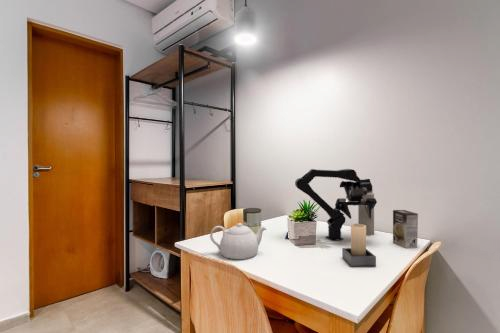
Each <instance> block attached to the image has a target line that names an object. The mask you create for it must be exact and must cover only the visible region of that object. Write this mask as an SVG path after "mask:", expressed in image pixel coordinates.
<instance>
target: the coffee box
mask: <svg viewBox="0 0 500 333" xmlns="http://www.w3.org/2000/svg"><path fill="white" fill-rule="evenodd" d="M418 224H419V214H418V213H416V212H414V211H413V212H412V211H410V210H405V209H393V210H392V226H393V227H392V242H393V243H394V244H396V245H398V246H400V247H402V248H404V249H415V248H416V249H417V248H418V236H419V235H418V232H419V230H418V229H419V228H418V227H419V226H418Z"/></svg>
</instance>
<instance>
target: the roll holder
mask: <svg viewBox="0 0 500 333" xmlns="http://www.w3.org/2000/svg"><path fill="white" fill-rule="evenodd" d="M341 250H342V253H341V254H342V256H341V257H342V259H343V260H344V261H345V263H346V264H348V265H349V267H350V268H373V267H374V268H377V267H376V266H377V256H376V255H375V254H374V253H372V252H371V251H370V250H368V249H367V248H366V256H352V255H351V247H350V248H349V247H348V248H347V247H345V248H341Z"/></svg>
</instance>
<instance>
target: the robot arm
mask: <svg viewBox="0 0 500 333" xmlns="http://www.w3.org/2000/svg"><path fill="white" fill-rule="evenodd" d="M317 177H319V178H334V179H335V178H338V179H341V180H342V179H343V180H342V181H341V182H340V184H339V188H343V189H344V191H345V195H346V196H345V198H344V197H343V198H341V197H339V198H337V199H336V201H335V204H334V206H335V207H334V208H333V207H332V206H331V205H330V204H329V203H327V202H326V200H324V199H323V198H322V197H321V196H320V195H319V194H318V193H317V192H316V191H314V189H313V188H312V187H311V185H310V183H311V182H312V180H314V179H315V178H317ZM344 180H345V181H344ZM294 185H295V188H297V189H298V190H300V191H301V192H303V193H304V194H306V195H307V196H309V198H311V199H312V200H313V201H314V202H315V203H316V205H319V207H320V208H321V209H323V211H325V212H326V214H327V215H328V217H329V219H327V220H326V223H327V225H328V226H327V229H328V230H327V231H328V232H327V233H328V235H326V236H325V238H327V239H328V240H331V241H340V240H344V237H342V231H341V229H342V228H343V225H344V224H346V217H345V215H346V216H347V217H348V218H349V219H350V220H351V219H352V214H351V212H350V209H349V206H358V205H364V206H365V208H366V209H365V210H366V212H367V215H368V217H369V218H370V219H371V210H372V209H373V208H374V209H375V206H376V205H377V203H378V201H377V199H376V198H375V197H374V198H367V199H366V201H361V199H362V198H363V197H362V196H363V195H366V194H367V193H368V192H372V190H373V184H372V182H371V179H370V178H365V179H361V178H360V177H359V176H358V175H357V171H356V170H354V169H351V168H343V169H336V170H333V169H332V170H331V169H315V168H311V169H309V171H308V172H306V173H305V174H304V175H302V177H299V178H297V179H296V180H295V182H294Z"/></svg>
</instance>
